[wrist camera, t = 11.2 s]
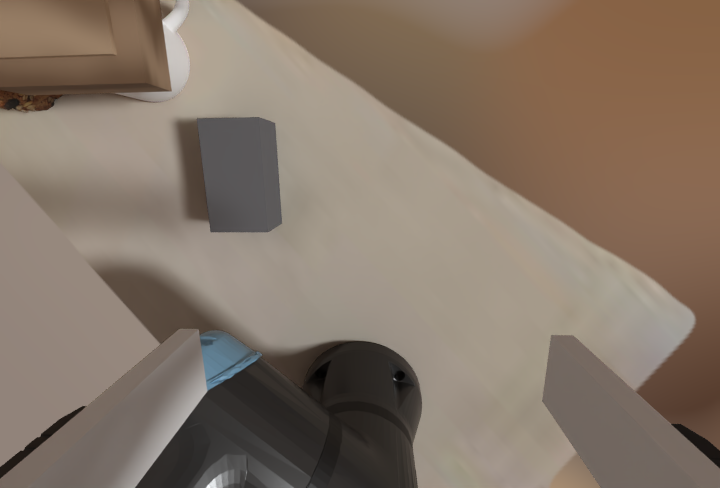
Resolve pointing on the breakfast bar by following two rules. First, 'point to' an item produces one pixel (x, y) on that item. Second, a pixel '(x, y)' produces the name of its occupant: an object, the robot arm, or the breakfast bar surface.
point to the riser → (240, 174)
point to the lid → (82, 47)
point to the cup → (171, 56)
